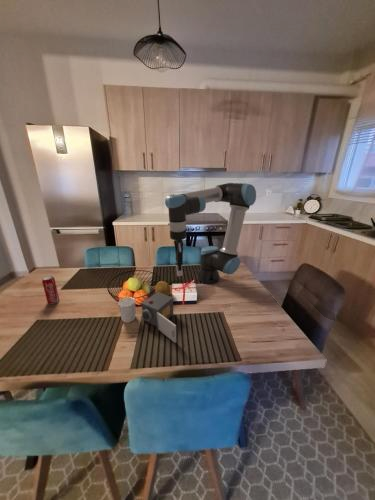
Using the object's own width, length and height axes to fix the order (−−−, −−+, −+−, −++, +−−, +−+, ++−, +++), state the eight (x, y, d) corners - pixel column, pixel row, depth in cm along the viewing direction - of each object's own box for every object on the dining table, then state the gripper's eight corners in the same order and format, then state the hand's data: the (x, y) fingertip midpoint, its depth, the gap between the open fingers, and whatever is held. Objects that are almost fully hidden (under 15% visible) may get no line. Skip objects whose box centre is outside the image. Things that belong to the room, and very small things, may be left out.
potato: (171, 277, 126) (156, 276, 126) (170, 289, 114) (153, 288, 114) (170, 290, 130) (155, 289, 130) (169, 303, 118) (153, 302, 117)
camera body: (158, 307, 113) (157, 290, 109) (173, 314, 108) (173, 296, 104) (139, 322, 102) (138, 303, 98) (155, 330, 97) (154, 311, 93)
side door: (156, 329, 97) (155, 313, 94) (159, 327, 98) (158, 311, 95) (173, 343, 89) (173, 326, 86) (176, 341, 90) (176, 325, 87)
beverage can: (48, 306, 114) (42, 282, 109) (46, 300, 119) (40, 277, 113) (60, 301, 118) (55, 278, 112) (58, 296, 122) (52, 274, 117)
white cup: (131, 311, 110) (129, 295, 107) (139, 318, 105) (138, 301, 101) (117, 318, 105) (115, 301, 101) (125, 325, 100) (123, 308, 96)
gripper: (168, 226, 100) (171, 269, 109) (170, 234, 88) (173, 282, 97) (183, 225, 101) (185, 268, 110) (188, 233, 89) (189, 281, 98)
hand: (179, 275), depth 104 cm, fingers closed
